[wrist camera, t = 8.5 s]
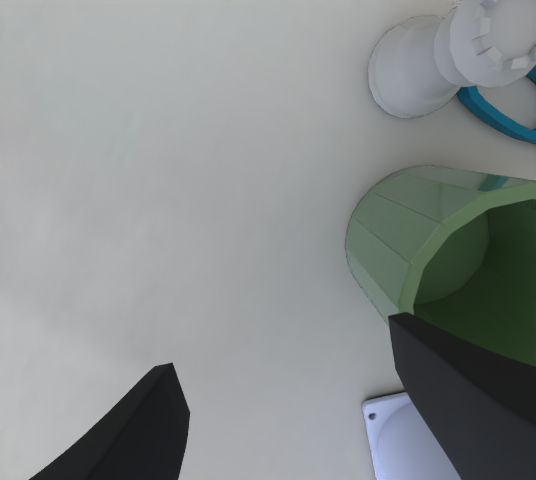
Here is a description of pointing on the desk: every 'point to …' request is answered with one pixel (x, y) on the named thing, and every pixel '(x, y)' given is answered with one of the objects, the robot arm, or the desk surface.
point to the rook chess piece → (452, 54)
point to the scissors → (496, 113)
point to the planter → (451, 254)
